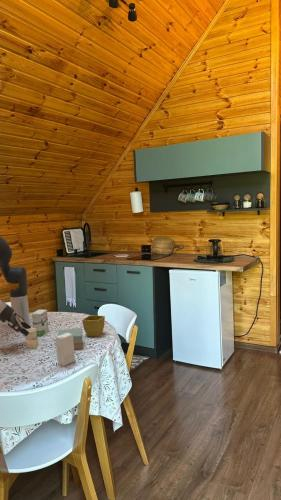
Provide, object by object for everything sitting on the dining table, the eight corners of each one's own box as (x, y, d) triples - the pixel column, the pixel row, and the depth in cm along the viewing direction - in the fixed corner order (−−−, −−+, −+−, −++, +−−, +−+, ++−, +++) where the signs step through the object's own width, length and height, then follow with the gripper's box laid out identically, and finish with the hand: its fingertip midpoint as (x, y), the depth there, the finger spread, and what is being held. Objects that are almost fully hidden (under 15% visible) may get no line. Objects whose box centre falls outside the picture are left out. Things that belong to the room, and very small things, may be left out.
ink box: (41, 336, 194) (40, 313, 192) (33, 336, 195) (31, 313, 193) (49, 330, 202) (47, 309, 201) (40, 330, 203) (38, 308, 202)
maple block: (27, 345, 182) (26, 329, 181) (37, 344, 183) (36, 328, 182) (26, 348, 177) (25, 332, 177) (36, 347, 178) (35, 331, 177)
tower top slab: (59, 337, 182) (58, 330, 182) (82, 334, 184) (81, 327, 183) (57, 345, 171) (57, 337, 171) (82, 343, 173) (81, 335, 172)
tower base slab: (58, 344, 182) (58, 337, 181) (82, 342, 184) (81, 335, 183) (58, 353, 171) (57, 345, 171) (83, 350, 173) (82, 343, 173)
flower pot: (90, 331, 197) (89, 314, 196) (106, 332, 194) (105, 315, 193) (82, 337, 189) (81, 319, 188) (98, 338, 186) (97, 320, 185)
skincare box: (68, 359, 162) (66, 331, 161) (75, 361, 160) (73, 333, 158) (57, 364, 158) (54, 336, 156) (64, 366, 155) (61, 338, 153)
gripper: (4, 308, 169) (32, 330, 172) (8, 300, 183) (35, 321, 186) (-8, 321, 168) (21, 342, 172) (-2, 312, 182) (25, 332, 186)
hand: (28, 331), depth 179 cm, fingers open, 8 cm apart
